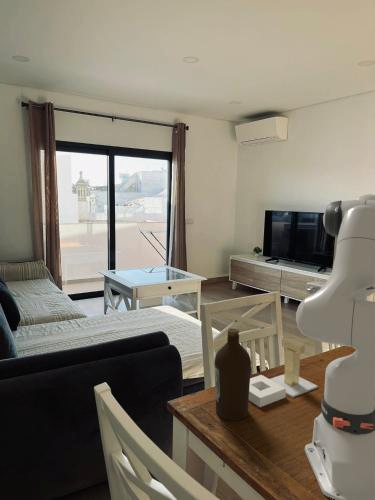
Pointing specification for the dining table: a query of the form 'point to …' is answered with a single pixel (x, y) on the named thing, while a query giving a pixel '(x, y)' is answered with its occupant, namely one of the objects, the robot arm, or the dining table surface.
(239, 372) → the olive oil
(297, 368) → the t key
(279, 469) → the dining table surface
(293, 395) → the white mat
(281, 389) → the socket block
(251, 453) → the dining table surface
